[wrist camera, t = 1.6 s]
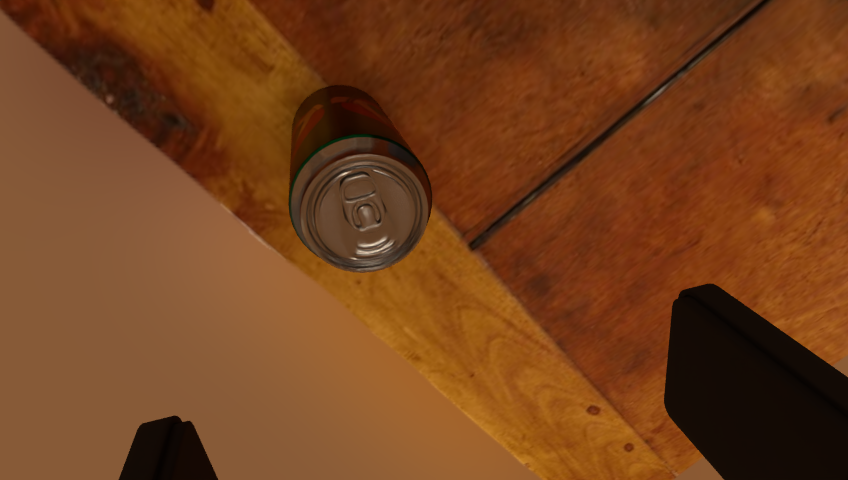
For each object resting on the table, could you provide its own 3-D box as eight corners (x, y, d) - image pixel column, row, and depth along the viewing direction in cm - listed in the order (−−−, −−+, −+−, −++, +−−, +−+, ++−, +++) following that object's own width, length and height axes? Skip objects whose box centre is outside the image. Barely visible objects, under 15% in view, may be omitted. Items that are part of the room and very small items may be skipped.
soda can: (309, 188, 29) (316, 300, 19) (278, 98, 27) (264, 167, 16) (397, 162, 30) (452, 258, 19) (373, 72, 27) (421, 123, 17)
